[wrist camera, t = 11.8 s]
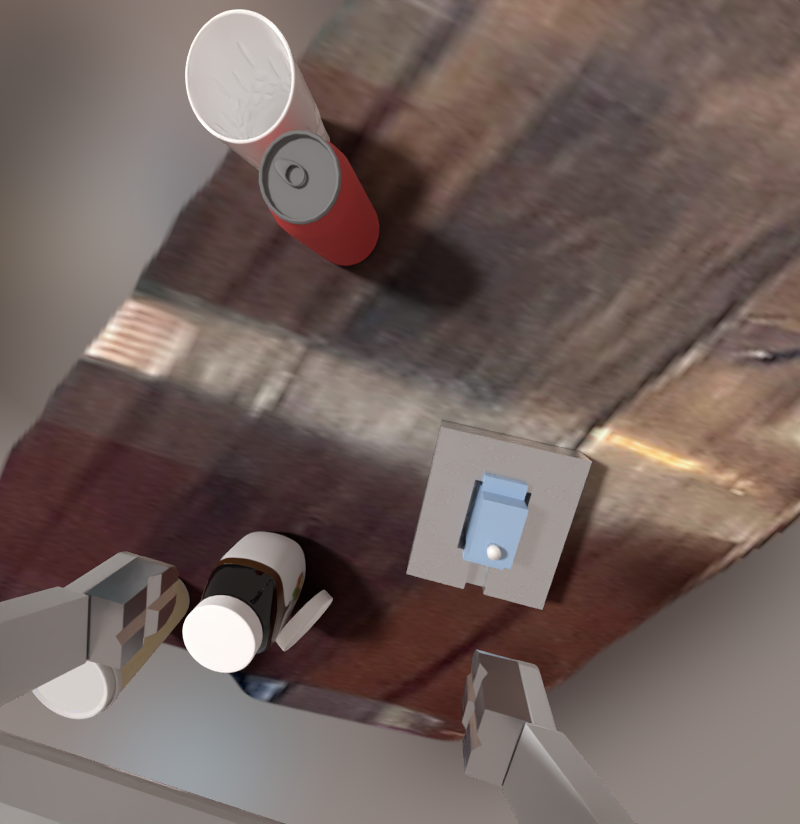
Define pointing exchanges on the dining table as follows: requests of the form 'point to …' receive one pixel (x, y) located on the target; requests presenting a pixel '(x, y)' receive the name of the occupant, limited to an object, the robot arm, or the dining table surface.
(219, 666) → the spread jar
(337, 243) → the beer can
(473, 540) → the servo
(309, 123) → the white cup
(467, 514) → the plate
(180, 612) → the coffee cup
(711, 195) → the dining table surface
